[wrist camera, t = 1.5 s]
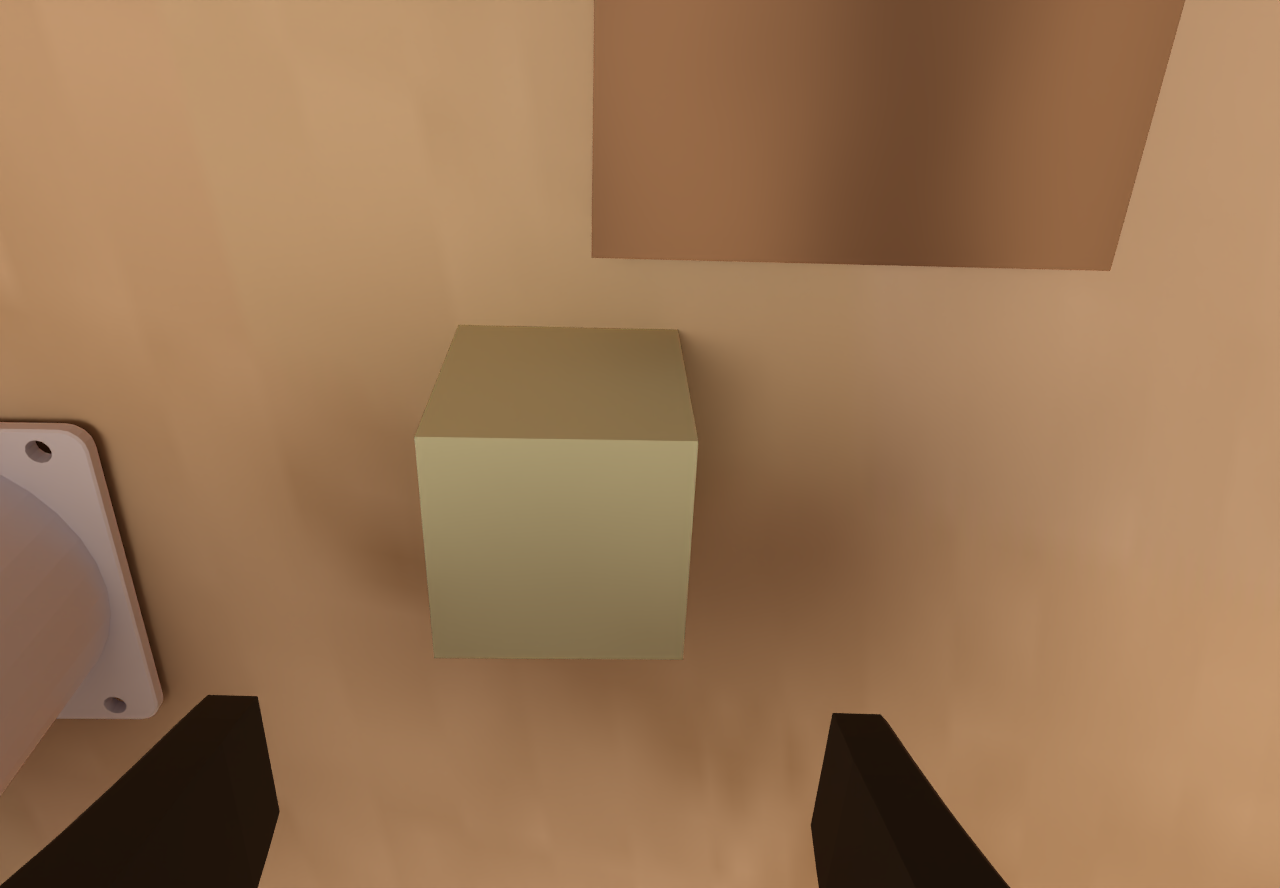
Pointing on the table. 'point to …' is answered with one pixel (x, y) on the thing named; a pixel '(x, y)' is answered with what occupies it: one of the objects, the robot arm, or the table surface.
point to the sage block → (558, 494)
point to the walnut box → (873, 129)
